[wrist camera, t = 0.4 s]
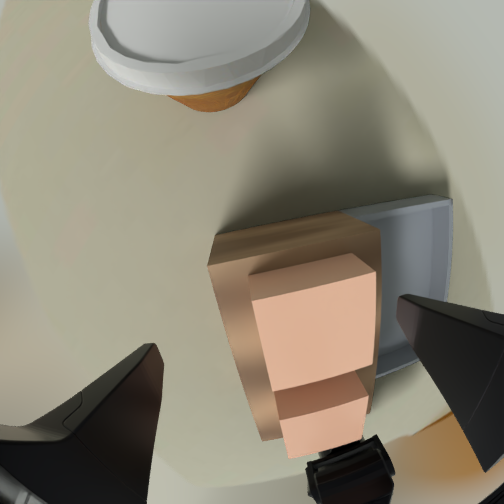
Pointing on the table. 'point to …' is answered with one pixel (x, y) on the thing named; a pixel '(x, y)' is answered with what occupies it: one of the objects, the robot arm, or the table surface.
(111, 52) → the disposable coffee cup
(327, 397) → the tile
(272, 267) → the brown wooden block
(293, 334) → the tile
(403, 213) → the tray
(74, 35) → the table surface
